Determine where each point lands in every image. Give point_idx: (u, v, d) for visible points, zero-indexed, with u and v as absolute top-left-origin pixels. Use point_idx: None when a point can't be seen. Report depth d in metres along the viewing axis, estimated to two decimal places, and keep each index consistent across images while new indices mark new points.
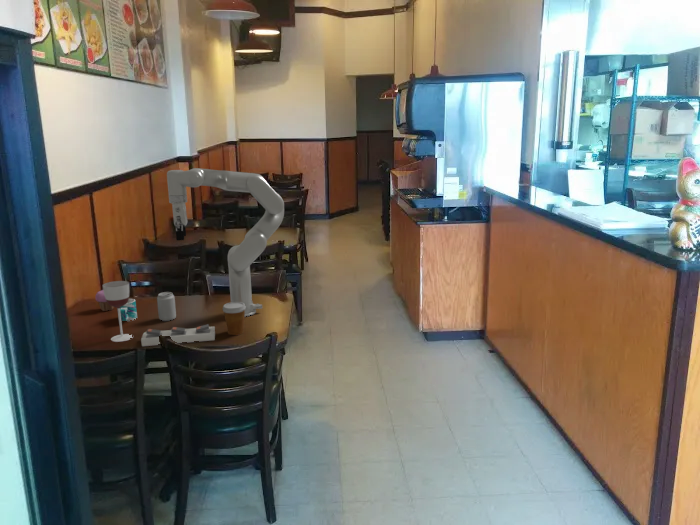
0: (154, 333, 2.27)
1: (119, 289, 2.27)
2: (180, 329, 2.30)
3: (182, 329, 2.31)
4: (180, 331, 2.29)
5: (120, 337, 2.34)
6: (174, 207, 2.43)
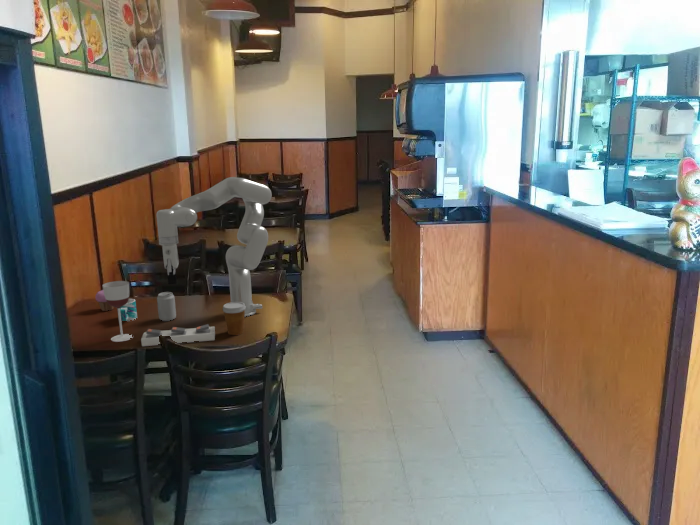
0: (154, 333, 2.27)
1: (119, 289, 2.27)
2: (180, 329, 2.30)
3: (182, 329, 2.31)
4: (180, 331, 2.29)
5: (120, 337, 2.34)
6: (164, 249, 2.29)
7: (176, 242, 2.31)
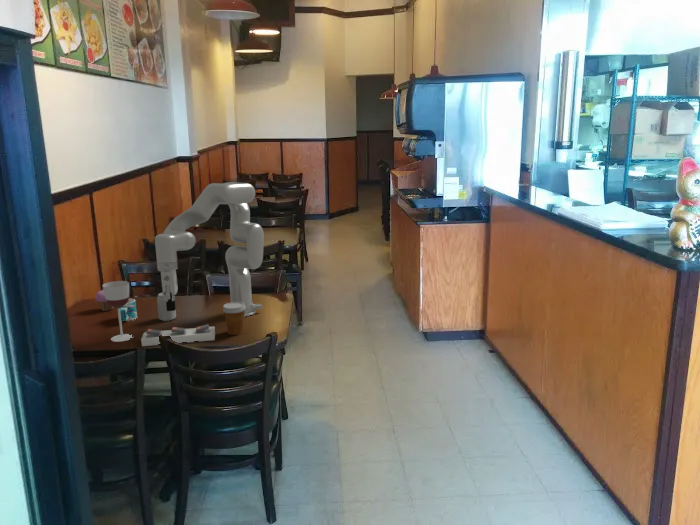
0: (154, 333, 2.27)
1: (119, 289, 2.27)
2: (180, 329, 2.30)
3: (182, 329, 2.31)
4: (180, 331, 2.29)
5: (120, 337, 2.34)
6: (163, 275, 2.20)
7: (175, 268, 2.23)
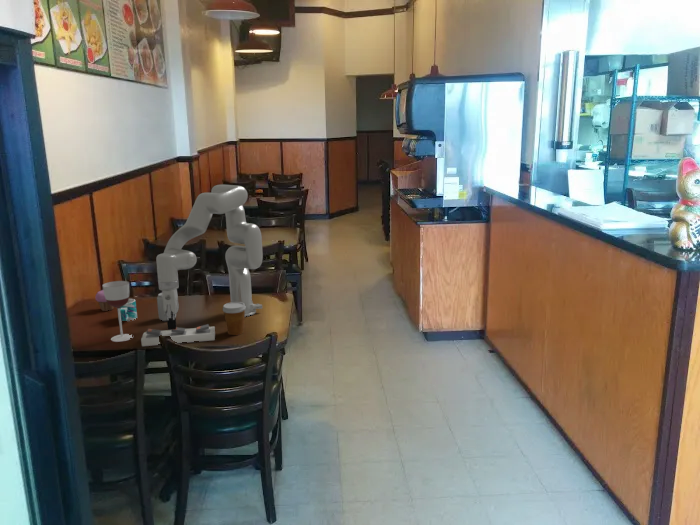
0: (154, 333, 2.27)
1: (119, 289, 2.27)
2: (180, 329, 2.30)
3: (182, 329, 2.31)
4: (180, 331, 2.29)
5: (120, 337, 2.34)
6: (164, 295, 2.22)
7: (176, 287, 2.25)
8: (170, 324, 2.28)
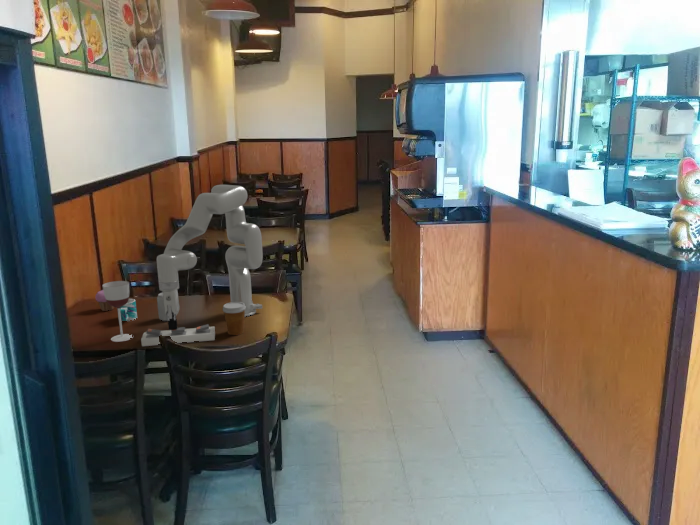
0: (154, 333, 2.27)
1: (119, 289, 2.27)
2: (180, 329, 2.30)
3: (182, 328, 2.30)
4: (180, 330, 2.29)
5: (120, 337, 2.34)
6: (164, 295, 2.22)
7: (177, 287, 2.25)
8: (171, 324, 2.28)
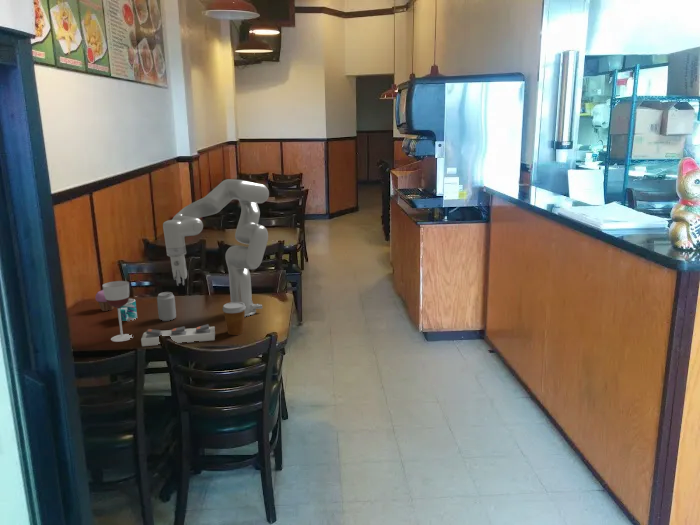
0: (154, 333, 2.27)
1: (119, 289, 2.27)
2: (179, 328, 2.30)
3: (181, 328, 2.30)
4: (180, 330, 2.29)
5: (120, 337, 2.34)
6: (173, 261, 2.26)
7: (184, 253, 2.29)
8: (180, 289, 2.33)
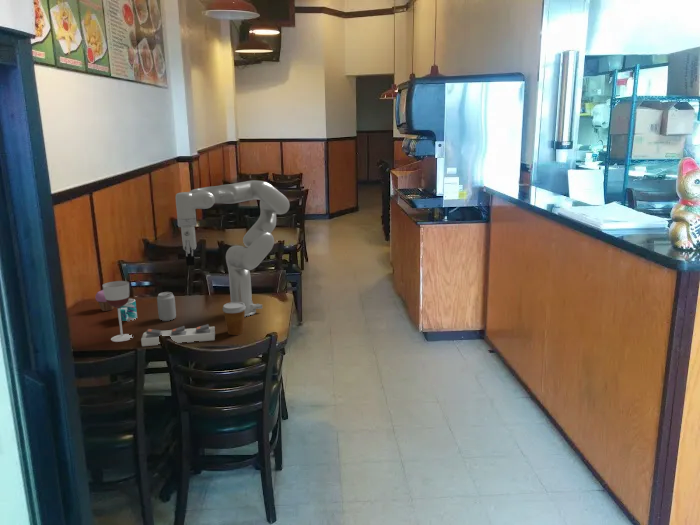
0: (154, 333, 2.27)
1: (119, 289, 2.27)
2: (179, 328, 2.30)
3: (181, 327, 2.30)
4: (180, 330, 2.29)
5: (120, 337, 2.34)
6: (183, 231, 2.34)
7: (194, 224, 2.37)
8: (189, 260, 2.40)
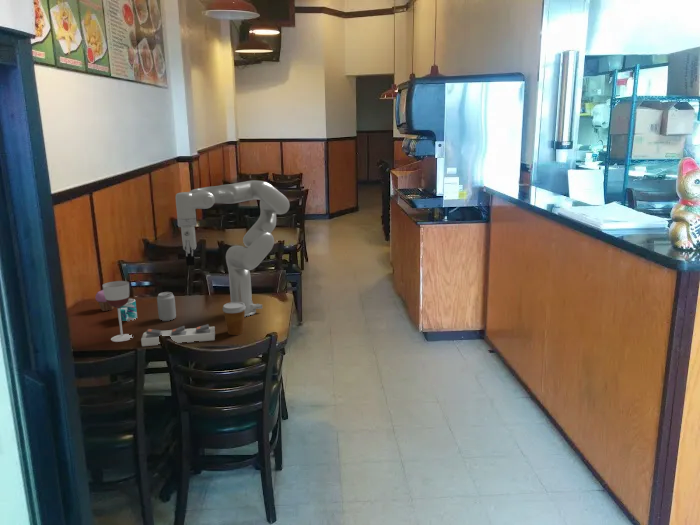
0: (154, 333, 2.27)
1: (119, 289, 2.27)
2: (179, 328, 2.30)
3: (181, 327, 2.30)
4: (180, 330, 2.29)
5: (120, 337, 2.34)
6: (183, 231, 2.34)
7: (194, 224, 2.37)
8: (189, 260, 2.40)
